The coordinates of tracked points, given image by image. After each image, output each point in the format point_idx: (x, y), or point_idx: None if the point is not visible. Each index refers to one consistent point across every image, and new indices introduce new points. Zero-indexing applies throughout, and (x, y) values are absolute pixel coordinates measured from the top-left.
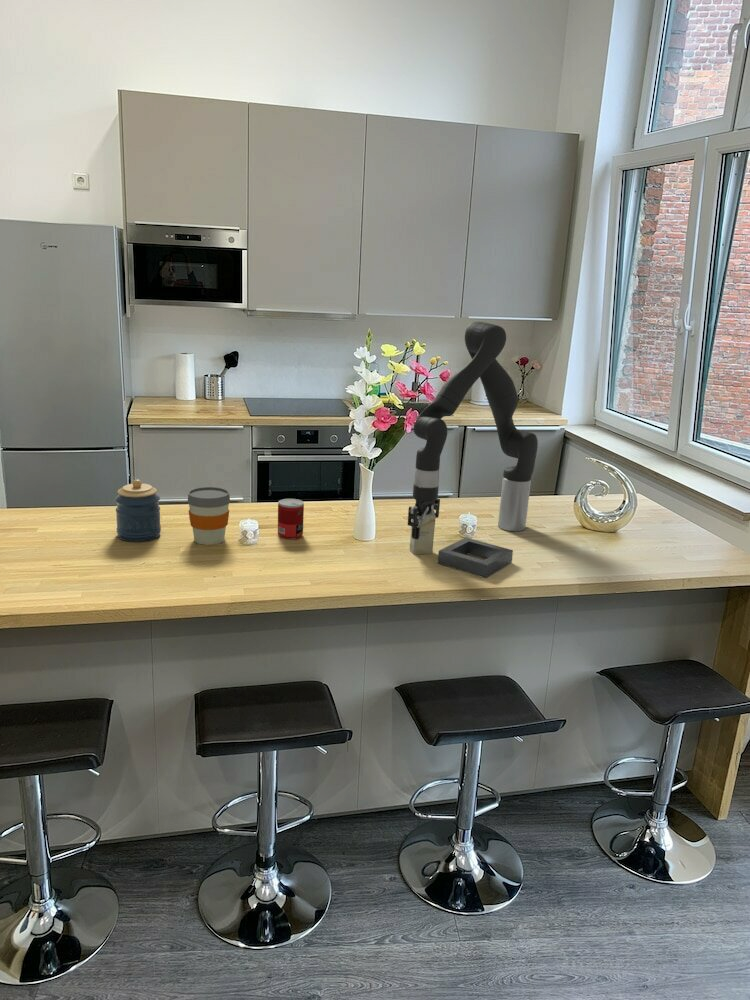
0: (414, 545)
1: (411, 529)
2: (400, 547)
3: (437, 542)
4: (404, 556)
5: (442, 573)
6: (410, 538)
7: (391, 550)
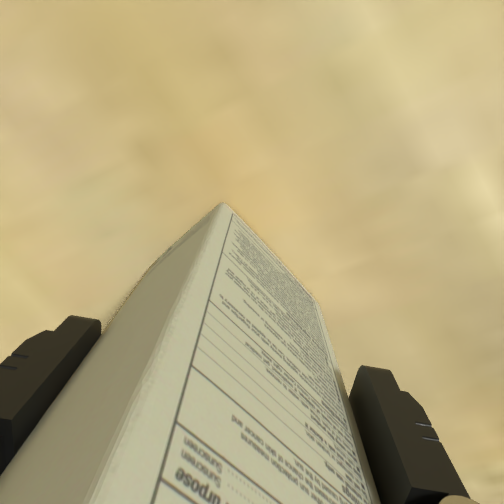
0: (128, 298)
1: (178, 280)
2: (228, 111)
3: (491, 316)
4: (73, 224)
5: None
6: (205, 232)
7: (114, 73)
